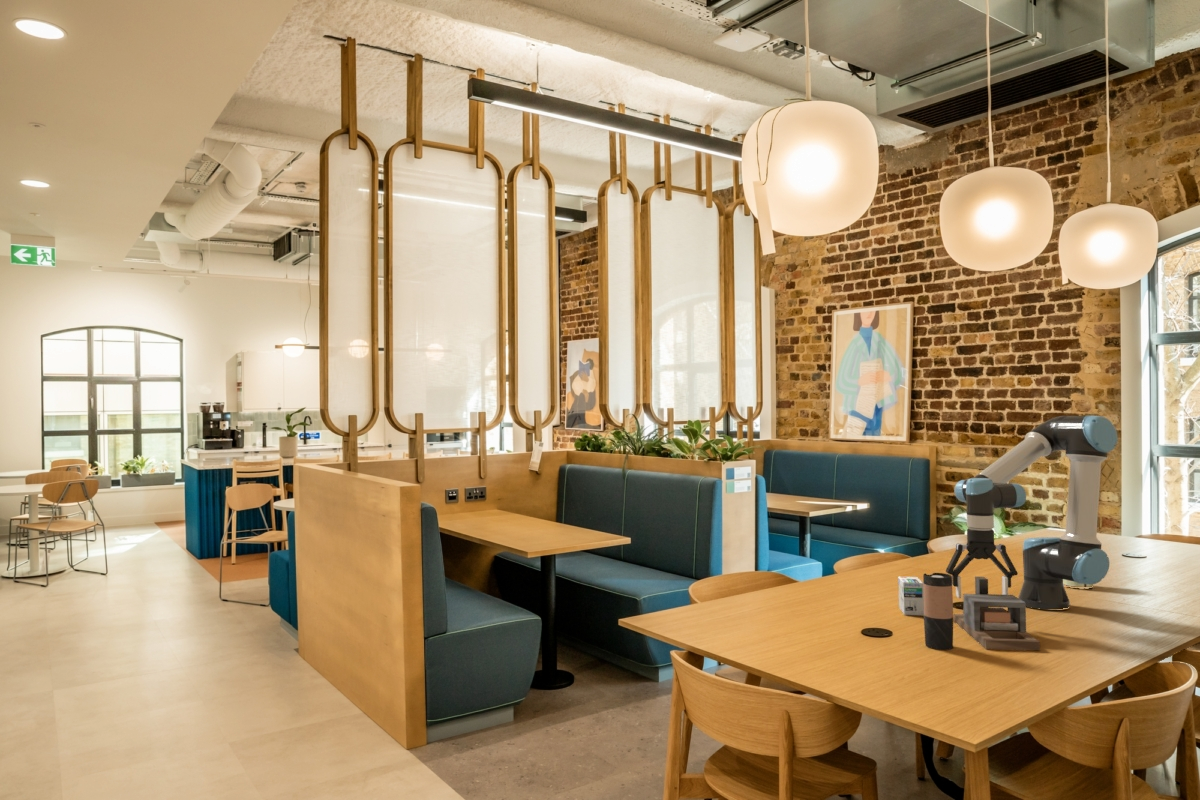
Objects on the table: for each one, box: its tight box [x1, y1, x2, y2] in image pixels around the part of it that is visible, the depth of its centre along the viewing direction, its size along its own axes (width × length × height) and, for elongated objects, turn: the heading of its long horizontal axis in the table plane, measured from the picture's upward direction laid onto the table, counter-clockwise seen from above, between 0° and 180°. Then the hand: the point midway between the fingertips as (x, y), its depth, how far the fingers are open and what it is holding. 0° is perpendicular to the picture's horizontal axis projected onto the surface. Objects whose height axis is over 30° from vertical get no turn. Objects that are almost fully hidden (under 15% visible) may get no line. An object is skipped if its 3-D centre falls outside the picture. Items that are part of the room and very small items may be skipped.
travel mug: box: [922, 572, 954, 651], centre depth 222 cm, size 8×8×20 cm
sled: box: [962, 576, 1018, 631], centre depth 236 cm, size 17×10×12 cm, turn 172°
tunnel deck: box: [953, 593, 1041, 651], centre depth 232 cm, size 30×14×11 cm, turn 172°
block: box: [980, 607, 1010, 623], centre depth 232 cm, size 7×6×5 cm
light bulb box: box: [897, 575, 924, 617], centre depth 261 cm, size 11×7×11 cm, turn 168°
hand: (981, 597), depth 242 cm, fingers open, 13 cm apart
